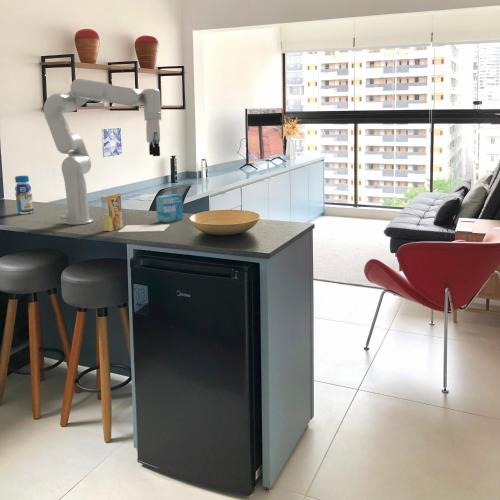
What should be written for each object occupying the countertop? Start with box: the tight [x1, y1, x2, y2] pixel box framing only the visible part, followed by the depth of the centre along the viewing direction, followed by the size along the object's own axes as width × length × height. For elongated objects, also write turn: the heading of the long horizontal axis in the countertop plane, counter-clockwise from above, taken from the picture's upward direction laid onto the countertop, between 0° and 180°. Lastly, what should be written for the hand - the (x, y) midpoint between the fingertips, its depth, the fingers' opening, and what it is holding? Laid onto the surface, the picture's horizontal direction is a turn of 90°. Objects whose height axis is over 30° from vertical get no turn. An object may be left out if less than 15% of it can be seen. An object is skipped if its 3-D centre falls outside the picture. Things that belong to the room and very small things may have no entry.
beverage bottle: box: [14, 175, 35, 213], centre depth 316 cm, size 8×8×20 cm
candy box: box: [100, 193, 124, 232], centre depth 261 cm, size 9×4×15 cm, turn 155°
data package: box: [155, 193, 184, 223], centre depth 278 cm, size 12×4×12 cm, turn 135°
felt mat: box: [117, 223, 171, 233], centre depth 261 cm, size 20×15×1 cm
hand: (154, 155), depth 271 cm, fingers open, 9 cm apart
